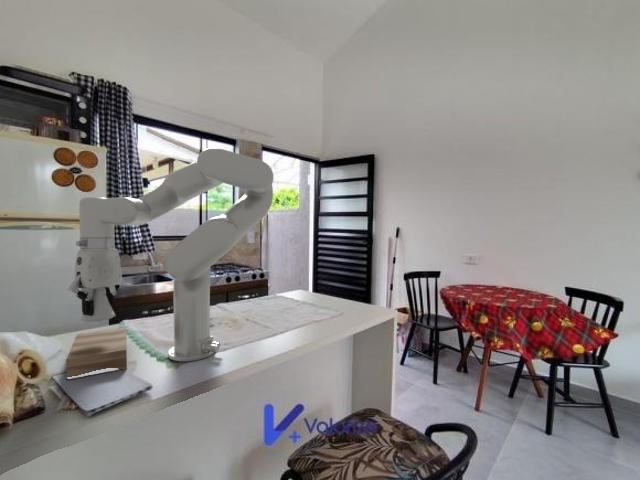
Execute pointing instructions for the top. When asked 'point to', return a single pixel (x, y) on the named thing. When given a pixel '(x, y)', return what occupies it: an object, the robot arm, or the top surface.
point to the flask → (99, 307)
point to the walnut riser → (97, 352)
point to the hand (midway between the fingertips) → (98, 311)
